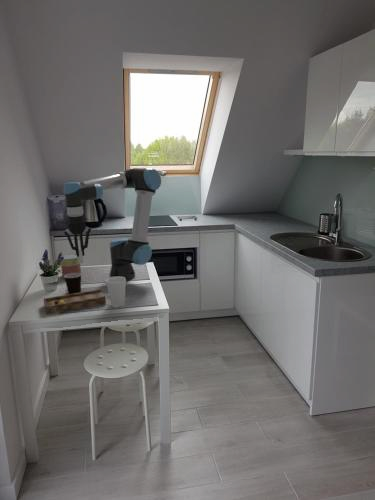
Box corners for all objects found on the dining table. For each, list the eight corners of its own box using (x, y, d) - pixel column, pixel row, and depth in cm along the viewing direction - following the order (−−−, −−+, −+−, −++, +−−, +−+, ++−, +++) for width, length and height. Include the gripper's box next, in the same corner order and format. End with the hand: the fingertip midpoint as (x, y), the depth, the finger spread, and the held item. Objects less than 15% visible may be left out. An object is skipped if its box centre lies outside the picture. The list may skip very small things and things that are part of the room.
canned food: (64, 273, 243) (62, 254, 240) (83, 272, 243) (81, 253, 240) (60, 279, 232) (57, 259, 229) (79, 278, 232) (77, 258, 229)
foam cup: (118, 309, 184) (116, 284, 181) (104, 306, 189) (101, 280, 186) (131, 303, 192) (129, 278, 189) (117, 299, 197) (115, 275, 194)
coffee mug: (78, 296, 203) (76, 278, 200) (63, 295, 205) (61, 277, 202) (88, 288, 214) (86, 271, 211) (73, 288, 216) (71, 270, 213)
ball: (65, 300, 191) (58, 298, 189) (66, 302, 188) (59, 301, 186) (63, 306, 191) (56, 305, 190) (64, 309, 188) (57, 307, 187)
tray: (100, 295, 203) (100, 289, 202) (105, 303, 192) (105, 296, 191) (44, 305, 192) (43, 298, 191) (46, 314, 181) (45, 307, 180)
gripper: (87, 212, 190) (93, 258, 196) (60, 215, 185) (66, 262, 191) (91, 214, 184) (96, 262, 190) (62, 217, 178) (68, 266, 185)
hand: (81, 262), depth 191 cm, fingers closed
